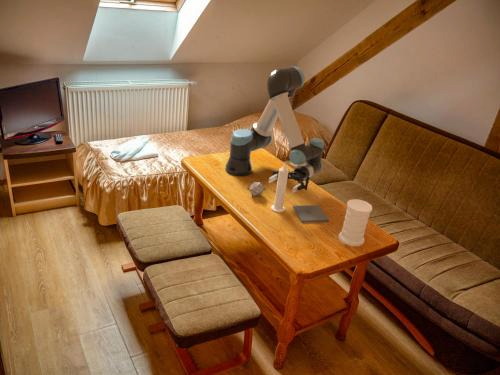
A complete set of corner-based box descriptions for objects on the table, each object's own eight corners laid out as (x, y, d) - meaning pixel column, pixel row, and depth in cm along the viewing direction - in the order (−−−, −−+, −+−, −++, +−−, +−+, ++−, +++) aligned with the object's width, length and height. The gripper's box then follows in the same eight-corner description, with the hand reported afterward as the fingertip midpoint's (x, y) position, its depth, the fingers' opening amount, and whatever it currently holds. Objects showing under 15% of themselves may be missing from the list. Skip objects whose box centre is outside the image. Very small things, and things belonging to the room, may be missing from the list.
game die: (257, 203, 228) (263, 195, 219) (243, 195, 227) (248, 187, 219) (264, 190, 232) (270, 182, 223) (250, 182, 232) (255, 174, 223)
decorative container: (334, 239, 198) (342, 205, 190) (344, 229, 207) (352, 196, 199) (358, 249, 193) (367, 215, 185) (367, 238, 202) (376, 205, 193)
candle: (286, 212, 215) (294, 166, 204) (273, 213, 213) (280, 166, 202) (282, 205, 221) (289, 160, 210) (268, 205, 219) (275, 160, 208)
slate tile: (292, 207, 220) (292, 205, 220) (318, 207, 224) (318, 205, 223) (301, 222, 208) (301, 220, 208) (328, 221, 212) (329, 219, 211)
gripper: (323, 187, 221) (302, 201, 205) (281, 171, 233) (258, 183, 217) (325, 174, 217) (304, 187, 202) (283, 158, 230) (260, 169, 214)
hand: (280, 185), depth 210 cm, fingers open, 13 cm apart
